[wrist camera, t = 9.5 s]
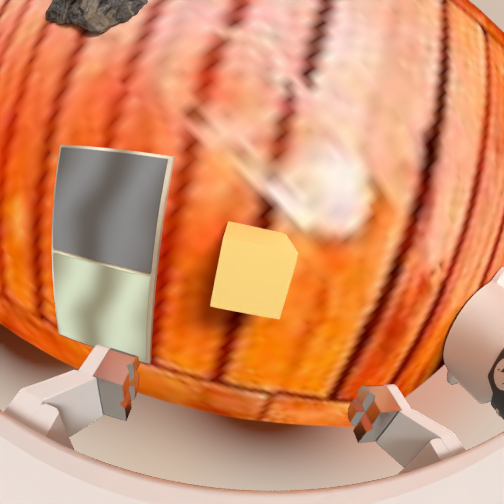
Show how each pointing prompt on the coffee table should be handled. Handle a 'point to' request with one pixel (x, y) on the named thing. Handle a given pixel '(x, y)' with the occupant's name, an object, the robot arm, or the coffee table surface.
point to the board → (108, 244)
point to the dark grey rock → (93, 12)
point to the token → (253, 271)
